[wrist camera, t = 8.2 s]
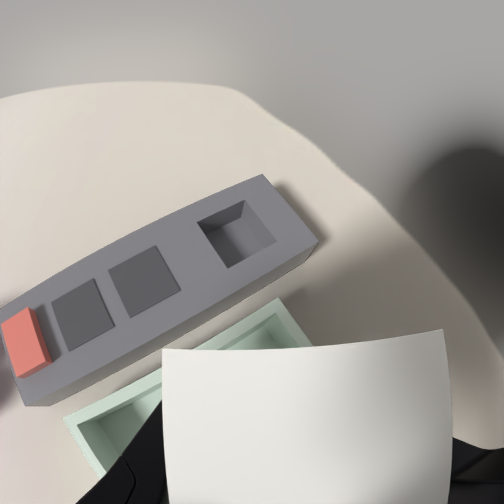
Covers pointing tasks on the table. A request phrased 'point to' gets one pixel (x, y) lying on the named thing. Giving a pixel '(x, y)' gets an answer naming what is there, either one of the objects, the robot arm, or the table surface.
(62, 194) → the table surface
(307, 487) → the white long block
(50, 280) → the power strip
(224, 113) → the table surface
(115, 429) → the tray
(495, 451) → the robot arm
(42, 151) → the table surface
